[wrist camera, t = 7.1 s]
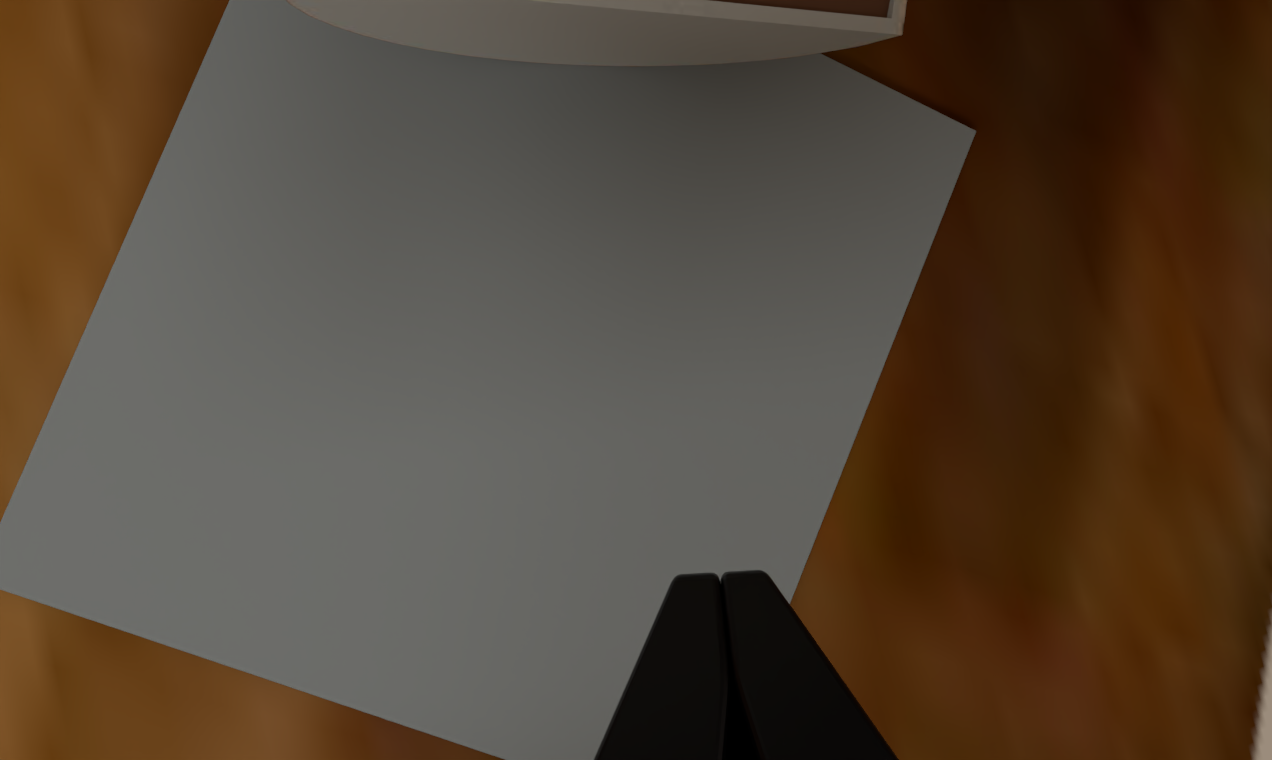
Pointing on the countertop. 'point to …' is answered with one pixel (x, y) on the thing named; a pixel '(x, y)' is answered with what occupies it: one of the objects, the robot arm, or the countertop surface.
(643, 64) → the food container
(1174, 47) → the countertop surface
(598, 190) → the slate mat
